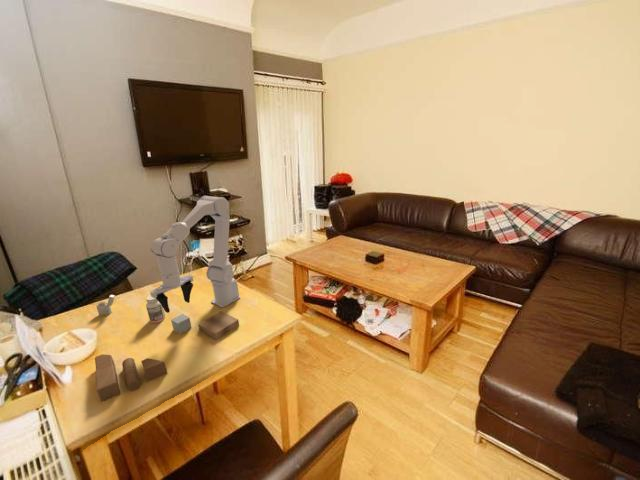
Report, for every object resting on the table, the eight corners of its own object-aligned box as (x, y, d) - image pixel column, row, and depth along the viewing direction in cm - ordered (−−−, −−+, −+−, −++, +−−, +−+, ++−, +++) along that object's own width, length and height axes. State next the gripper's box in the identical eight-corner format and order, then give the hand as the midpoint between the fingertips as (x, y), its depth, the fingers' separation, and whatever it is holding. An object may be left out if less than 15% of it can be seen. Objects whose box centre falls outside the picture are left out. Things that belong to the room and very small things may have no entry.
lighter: (99, 315, 127) (93, 298, 124) (101, 313, 128) (95, 295, 126) (117, 313, 127) (112, 296, 125) (119, 311, 129) (114, 294, 126)
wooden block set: (95, 390, 83) (92, 353, 97) (101, 406, 85) (97, 368, 99) (164, 361, 92) (152, 331, 106) (168, 376, 94) (156, 345, 108)
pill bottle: (153, 315, 125) (147, 294, 121) (167, 314, 125) (162, 292, 122) (147, 324, 120) (141, 301, 116) (162, 322, 120) (156, 300, 117)
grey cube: (184, 324, 119) (182, 313, 117) (191, 328, 116) (189, 317, 115) (173, 330, 116) (171, 319, 114) (180, 334, 113) (177, 323, 112)
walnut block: (222, 317, 122) (221, 311, 121) (239, 326, 117) (238, 319, 116) (199, 331, 115) (198, 324, 114) (216, 341, 109) (215, 333, 108)
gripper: (182, 262, 116) (189, 294, 120) (142, 277, 105) (151, 312, 110) (193, 266, 112) (200, 299, 116) (153, 282, 101) (162, 319, 106)
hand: (177, 306), depth 113 cm, fingers open, 7 cm apart
